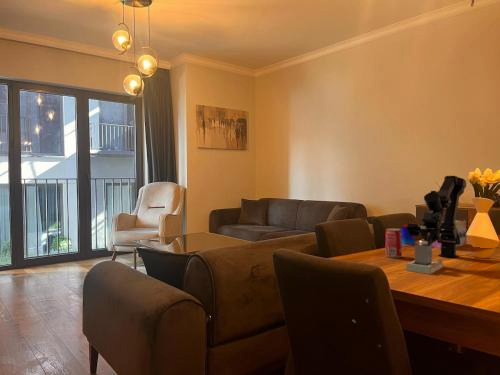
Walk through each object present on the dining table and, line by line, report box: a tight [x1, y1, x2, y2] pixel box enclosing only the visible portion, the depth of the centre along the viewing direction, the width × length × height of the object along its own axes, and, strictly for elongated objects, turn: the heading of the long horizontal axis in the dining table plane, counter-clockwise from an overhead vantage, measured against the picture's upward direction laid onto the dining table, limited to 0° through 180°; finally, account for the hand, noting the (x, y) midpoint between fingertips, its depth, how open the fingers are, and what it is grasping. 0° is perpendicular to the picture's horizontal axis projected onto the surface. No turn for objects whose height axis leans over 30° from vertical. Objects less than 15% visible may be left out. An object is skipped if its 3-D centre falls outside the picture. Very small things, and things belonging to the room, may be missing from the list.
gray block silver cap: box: [414, 239, 433, 266], centre depth 156 cm, size 5×5×10 cm
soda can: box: [385, 228, 403, 259], centre depth 181 cm, size 7×7×13 cm
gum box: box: [428, 219, 467, 250], centre depth 210 cm, size 24×8×14 cm, turn 121°
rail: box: [405, 259, 445, 275], centre depth 159 cm, size 17×9×3 cm, turn 137°
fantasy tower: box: [400, 223, 417, 248], centre depth 212 cm, size 12×12×12 cm
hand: (425, 247), depth 158 cm, fingers closed, pressing on gray block silver cap
